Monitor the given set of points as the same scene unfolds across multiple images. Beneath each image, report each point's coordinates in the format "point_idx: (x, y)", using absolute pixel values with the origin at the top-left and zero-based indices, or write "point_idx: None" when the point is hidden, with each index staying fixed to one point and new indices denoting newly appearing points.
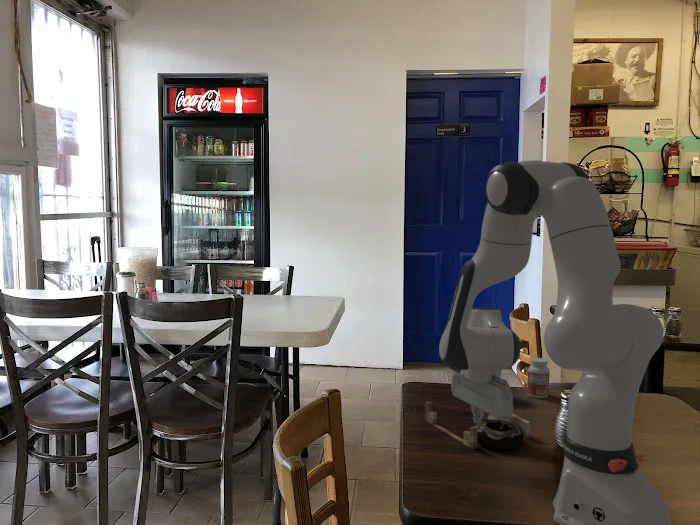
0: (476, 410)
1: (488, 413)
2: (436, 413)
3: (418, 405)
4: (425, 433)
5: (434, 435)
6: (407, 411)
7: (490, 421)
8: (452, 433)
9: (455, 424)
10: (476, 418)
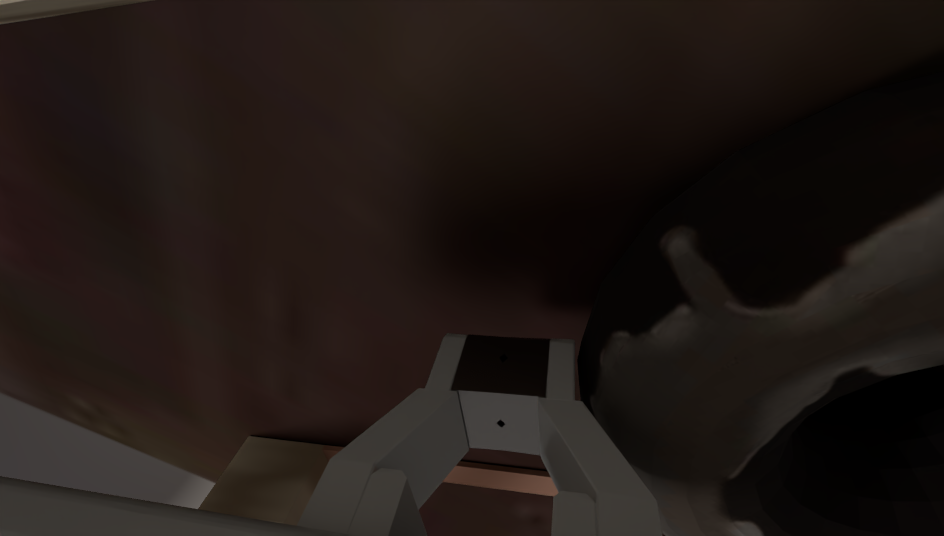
0: (407, 478)
1: (652, 521)
2: (285, 520)
3: (5, 359)
4: (444, 533)
5: (484, 524)
6: (130, 443)
7: (736, 464)
8: (503, 473)
9: (338, 366)
10: (492, 438)
